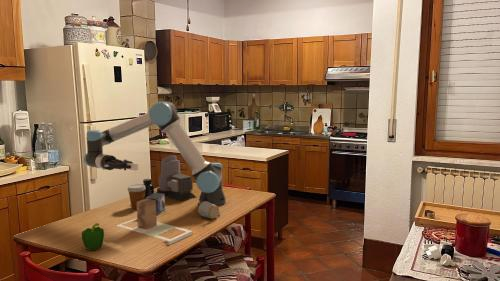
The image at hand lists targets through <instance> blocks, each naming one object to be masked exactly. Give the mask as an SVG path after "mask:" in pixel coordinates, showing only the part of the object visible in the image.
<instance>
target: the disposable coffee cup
mask: <svg viewBox="0 0 500 281" xmlns="http://www.w3.org/2000/svg"><path fill="white" fill-rule="evenodd" d="M145 189H146V187H145V185H143V183H142V184H138V183H136V184H130V185H128V187H127V191H128V196H129V200H130V201H129V202H130V207H131V209H133V210H137V202H138V201H141V200H144V194H145Z"/></svg>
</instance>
